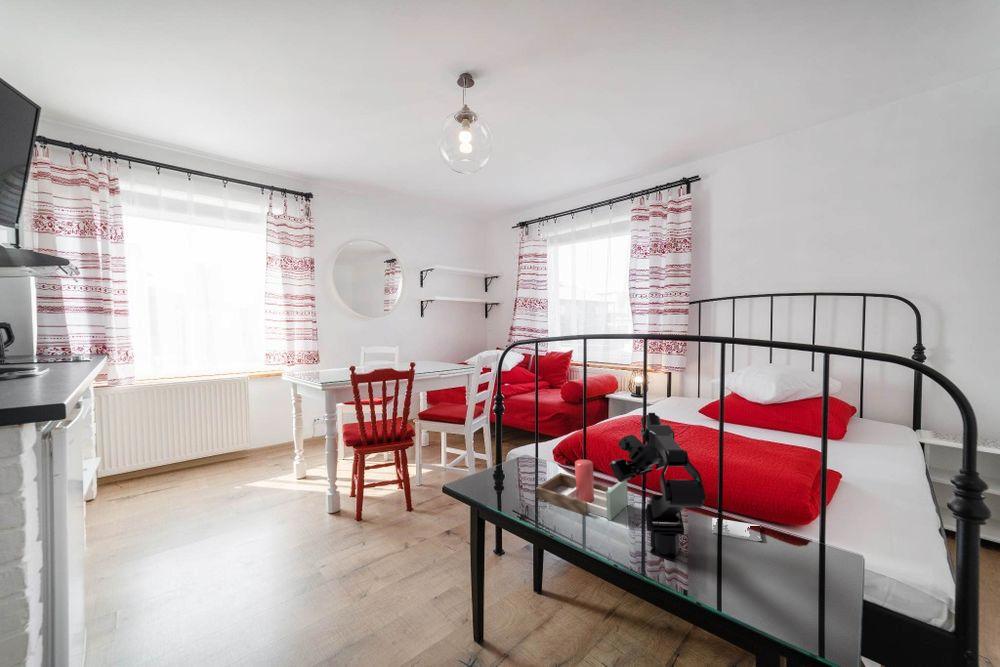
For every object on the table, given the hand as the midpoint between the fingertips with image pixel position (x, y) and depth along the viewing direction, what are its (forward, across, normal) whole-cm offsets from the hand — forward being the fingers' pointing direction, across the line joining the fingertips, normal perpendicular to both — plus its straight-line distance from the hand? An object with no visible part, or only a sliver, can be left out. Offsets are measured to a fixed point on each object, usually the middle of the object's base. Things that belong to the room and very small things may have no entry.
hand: (624, 476), depth 133 cm
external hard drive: (-8, -19, +27) cm, 34 cm away
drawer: (+22, +7, -4) cm, 23 cm away
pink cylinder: (+18, +6, -1) cm, 19 cm away
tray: (+17, +4, +1) cm, 17 cm away
